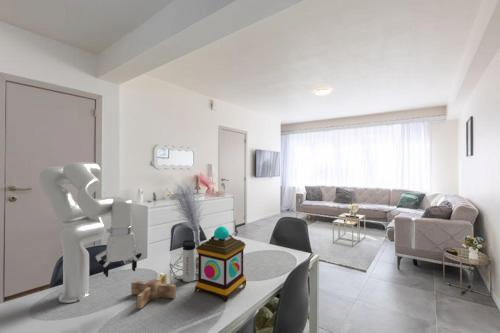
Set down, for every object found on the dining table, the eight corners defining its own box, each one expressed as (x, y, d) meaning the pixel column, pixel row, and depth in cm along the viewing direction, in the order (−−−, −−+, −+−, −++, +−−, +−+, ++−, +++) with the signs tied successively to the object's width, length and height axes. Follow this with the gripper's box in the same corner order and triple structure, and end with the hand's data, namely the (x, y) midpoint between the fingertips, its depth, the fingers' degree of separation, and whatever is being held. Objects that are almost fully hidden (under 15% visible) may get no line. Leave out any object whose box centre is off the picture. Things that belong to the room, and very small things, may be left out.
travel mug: (189, 277, 129) (190, 238, 129) (198, 281, 124) (198, 241, 124) (179, 281, 124) (179, 241, 124) (187, 285, 120) (187, 244, 120)
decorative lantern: (216, 276, 129) (216, 219, 129) (250, 285, 120) (250, 224, 120) (190, 294, 112) (190, 228, 111) (227, 306, 102) (227, 234, 102)
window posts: (159, 283, 119) (159, 273, 119) (170, 280, 123) (170, 270, 123) (162, 288, 115) (162, 277, 115) (174, 284, 118) (174, 274, 118)
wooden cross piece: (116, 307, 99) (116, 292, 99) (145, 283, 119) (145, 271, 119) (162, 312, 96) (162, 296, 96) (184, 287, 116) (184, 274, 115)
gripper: (97, 236, 91) (95, 282, 91) (146, 229, 101) (145, 271, 101) (95, 230, 97) (94, 274, 97) (142, 225, 107) (141, 264, 107)
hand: (120, 272), depth 99 cm, fingers open, 9 cm apart
